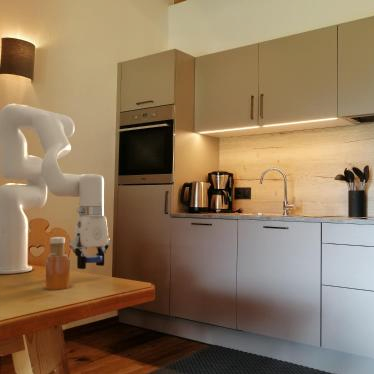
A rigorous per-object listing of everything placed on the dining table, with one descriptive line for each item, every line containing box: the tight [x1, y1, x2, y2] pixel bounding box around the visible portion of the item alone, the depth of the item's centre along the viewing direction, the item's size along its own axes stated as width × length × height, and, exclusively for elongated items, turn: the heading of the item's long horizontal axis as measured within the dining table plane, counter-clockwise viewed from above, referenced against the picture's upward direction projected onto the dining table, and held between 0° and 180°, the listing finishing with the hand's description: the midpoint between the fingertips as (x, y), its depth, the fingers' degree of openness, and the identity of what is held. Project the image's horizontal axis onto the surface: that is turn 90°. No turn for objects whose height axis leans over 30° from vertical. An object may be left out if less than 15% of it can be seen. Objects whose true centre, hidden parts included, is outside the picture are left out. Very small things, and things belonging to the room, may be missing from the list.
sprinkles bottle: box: [49, 236, 66, 255], centre depth 138 cm, size 5×5×13 cm
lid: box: [84, 254, 102, 264], centre depth 136 cm, size 7×7×2 cm
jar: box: [45, 253, 71, 291], centre depth 124 cm, size 6×6×9 cm
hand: (91, 266), depth 136 cm, fingers closed on lid, 6 cm apart
